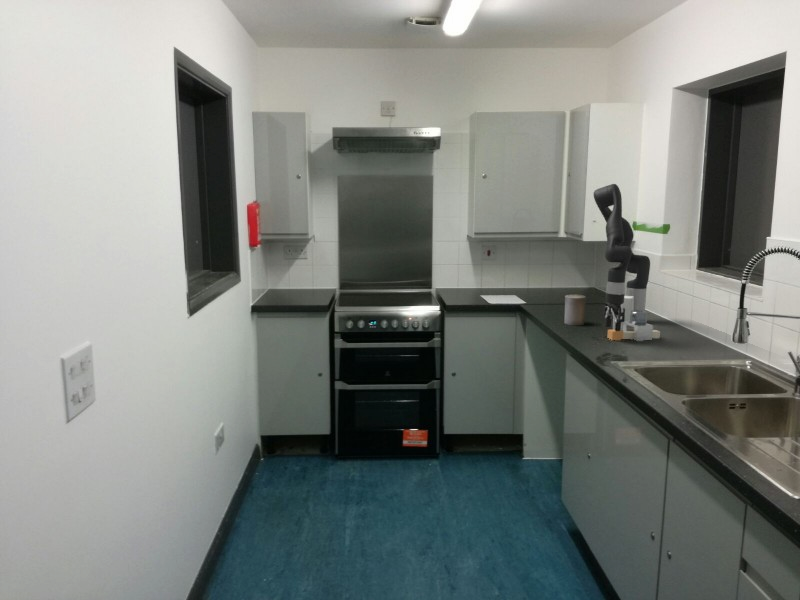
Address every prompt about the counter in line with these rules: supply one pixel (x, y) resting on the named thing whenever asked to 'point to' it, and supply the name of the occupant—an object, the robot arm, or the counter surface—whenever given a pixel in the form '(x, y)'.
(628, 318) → the skincare box
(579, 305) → the pillar candle
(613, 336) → the plug rod
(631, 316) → the grey box with ball
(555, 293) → the counter surface
